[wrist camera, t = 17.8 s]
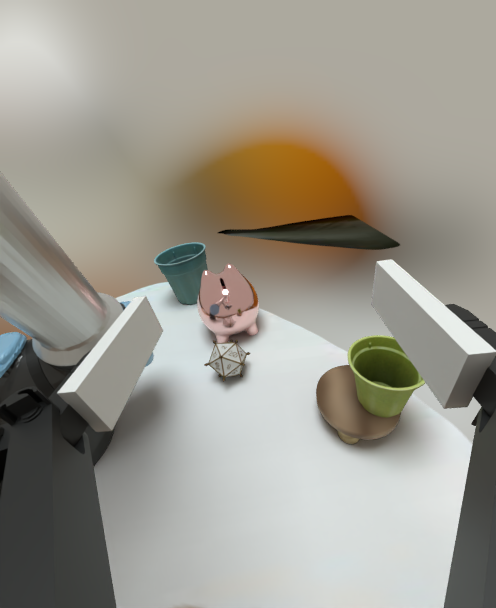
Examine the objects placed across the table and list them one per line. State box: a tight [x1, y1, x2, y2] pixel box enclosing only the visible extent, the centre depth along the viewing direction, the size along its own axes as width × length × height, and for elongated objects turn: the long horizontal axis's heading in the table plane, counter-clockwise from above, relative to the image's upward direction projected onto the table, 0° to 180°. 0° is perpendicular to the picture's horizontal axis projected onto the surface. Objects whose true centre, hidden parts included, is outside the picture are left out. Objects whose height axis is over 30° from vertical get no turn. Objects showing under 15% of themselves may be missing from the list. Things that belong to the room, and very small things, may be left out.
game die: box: [205, 340, 250, 381], centre depth 49 cm, size 9×8×10 cm
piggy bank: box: [197, 263, 259, 343], centre depth 61 cm, size 15×18×16 cm
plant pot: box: [348, 335, 426, 418], centre depth 34 cm, size 9×9×9 cm
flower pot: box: [154, 243, 208, 305], centre depth 79 cm, size 16×16×16 cm
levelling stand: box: [316, 365, 401, 444], centre depth 38 cm, size 12×12×4 cm
